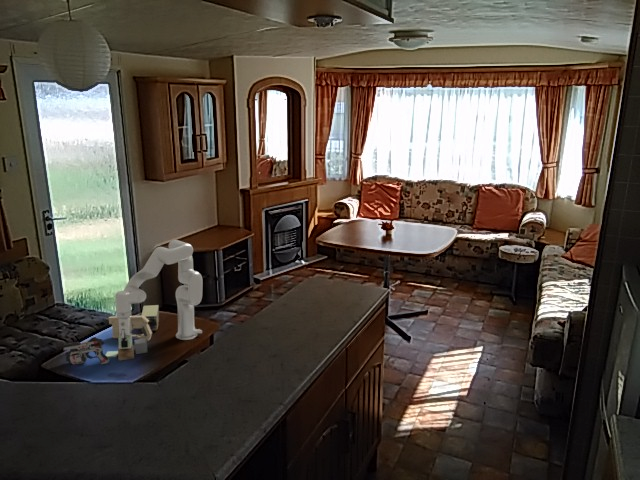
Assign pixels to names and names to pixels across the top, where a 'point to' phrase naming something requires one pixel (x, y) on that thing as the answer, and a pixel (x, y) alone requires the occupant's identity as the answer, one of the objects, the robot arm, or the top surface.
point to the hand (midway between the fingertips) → (125, 344)
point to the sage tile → (112, 354)
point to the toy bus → (151, 315)
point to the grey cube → (140, 346)
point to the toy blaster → (85, 351)
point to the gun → (132, 326)
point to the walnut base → (126, 353)
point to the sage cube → (128, 341)
